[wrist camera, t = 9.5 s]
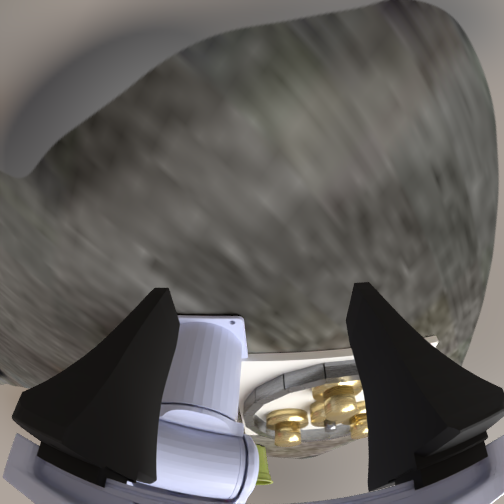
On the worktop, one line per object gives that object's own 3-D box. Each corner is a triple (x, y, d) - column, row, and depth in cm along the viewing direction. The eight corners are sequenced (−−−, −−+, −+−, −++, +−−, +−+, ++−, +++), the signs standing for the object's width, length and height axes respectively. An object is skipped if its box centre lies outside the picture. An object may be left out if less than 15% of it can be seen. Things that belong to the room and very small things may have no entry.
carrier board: (246, 429, 40) (245, 434, 40) (228, 353, 27) (228, 361, 27) (379, 418, 39) (380, 422, 38) (435, 335, 26) (438, 341, 25)
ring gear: (250, 433, 39) (249, 443, 37) (236, 365, 27) (235, 381, 25) (377, 421, 38) (379, 431, 36) (431, 347, 26) (436, 360, 24)
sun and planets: (266, 423, 36) (266, 449, 32) (265, 401, 31) (265, 431, 28) (371, 413, 35) (376, 437, 31) (389, 388, 30) (396, 416, 27)
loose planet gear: (308, 394, 30) (311, 426, 27) (314, 370, 27) (319, 406, 23) (354, 390, 30) (360, 420, 26) (366, 365, 27) (375, 399, 23)
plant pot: (269, 452, 50) (269, 485, 42) (227, 450, 49) (225, 483, 42) (276, 441, 44) (276, 480, 37) (228, 439, 44) (225, 478, 37)
